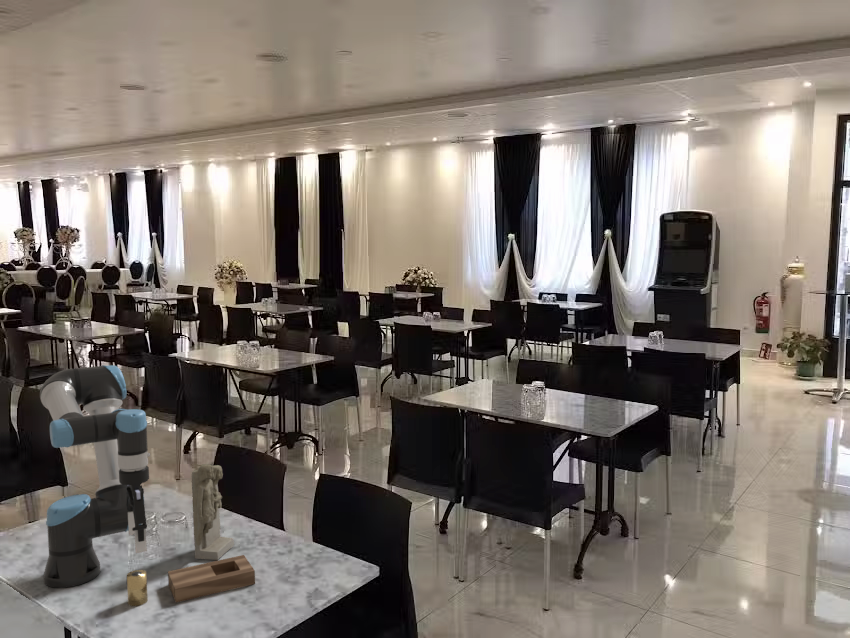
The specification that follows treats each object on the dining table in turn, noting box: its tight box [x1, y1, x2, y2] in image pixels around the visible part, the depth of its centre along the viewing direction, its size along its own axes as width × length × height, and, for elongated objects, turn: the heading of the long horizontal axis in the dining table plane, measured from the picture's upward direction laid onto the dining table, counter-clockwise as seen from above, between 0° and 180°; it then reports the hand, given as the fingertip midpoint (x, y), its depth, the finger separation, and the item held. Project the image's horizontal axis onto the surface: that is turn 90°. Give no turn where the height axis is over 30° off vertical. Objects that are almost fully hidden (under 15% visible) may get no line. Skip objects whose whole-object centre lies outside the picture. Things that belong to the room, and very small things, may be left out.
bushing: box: [126, 569, 149, 607], centre depth 193 cm, size 5×5×8 cm
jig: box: [167, 554, 256, 604], centre depth 203 cm, size 12×22×4 cm, turn 119°
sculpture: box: [191, 463, 235, 561], centre depth 222 cm, size 15×8×30 cm, turn 168°
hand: (137, 542), depth 192 cm, fingers open, 13 cm apart
